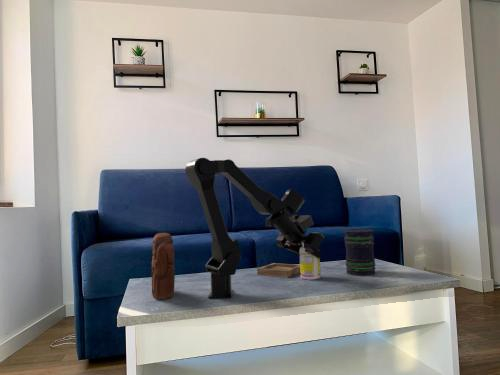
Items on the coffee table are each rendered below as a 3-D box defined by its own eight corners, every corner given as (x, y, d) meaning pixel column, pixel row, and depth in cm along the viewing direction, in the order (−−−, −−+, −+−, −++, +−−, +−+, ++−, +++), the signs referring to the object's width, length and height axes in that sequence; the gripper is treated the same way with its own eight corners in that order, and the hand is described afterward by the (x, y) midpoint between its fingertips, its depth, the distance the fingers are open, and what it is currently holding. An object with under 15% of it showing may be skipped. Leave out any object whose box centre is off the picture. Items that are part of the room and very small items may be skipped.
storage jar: (378, 276, 114) (376, 231, 115) (348, 276, 116) (345, 231, 117) (372, 270, 124) (370, 228, 125) (344, 270, 126) (342, 229, 126)
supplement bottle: (313, 275, 120) (312, 237, 120) (324, 278, 114) (322, 239, 114) (296, 277, 117) (295, 239, 118) (306, 281, 111) (305, 241, 112)
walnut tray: (287, 277, 117) (286, 271, 117) (257, 274, 123) (257, 268, 124) (302, 271, 127) (302, 265, 127) (274, 268, 133) (274, 262, 133)
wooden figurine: (151, 291, 105) (149, 232, 106) (172, 289, 107) (170, 231, 108) (153, 301, 94) (151, 235, 95) (177, 298, 96) (175, 233, 97)
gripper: (318, 207, 106) (344, 239, 112) (281, 207, 122) (305, 236, 128) (300, 234, 102) (328, 267, 107) (263, 231, 117) (290, 260, 123)
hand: (312, 256), depth 116 cm, fingers closed on supplement bottle, 7 cm apart
